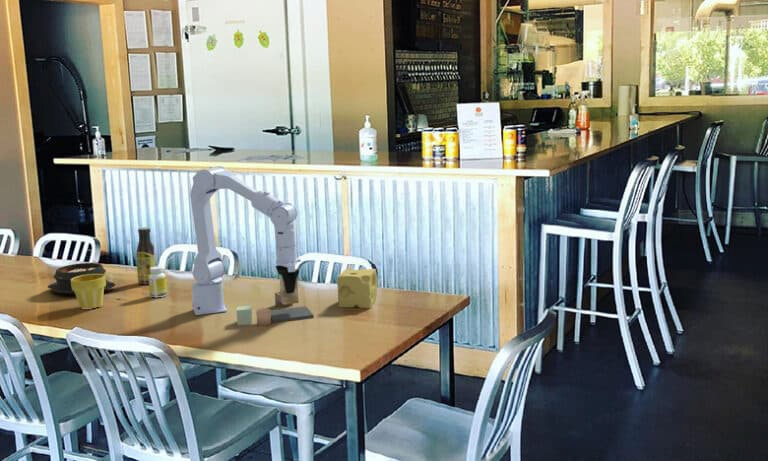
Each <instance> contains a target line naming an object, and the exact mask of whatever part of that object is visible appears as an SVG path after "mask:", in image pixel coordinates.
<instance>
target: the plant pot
mask: <svg viewBox="0 0 768 461" xmlns="http://www.w3.org/2000/svg"><path fill="white" fill-rule="evenodd" d="M106 280H107V279H106V276H105V274H104V275H103V274H87V275H81V276H77V277H74V278H72V279H71V287H72V290H73V291H74V292H75V294H76V295H75V297H76V300H77V302H78V306H79V307H81V308H96V307H99V308H101V307H103V303H104V292H105V290H104V287H105V286H106ZM100 306H101V307H100ZM81 308H80V309H81ZM96 309H97V308H96Z"/></svg>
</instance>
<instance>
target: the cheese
mask: <svg viewBox="0 0 768 461" xmlns="http://www.w3.org/2000/svg"><path fill="white" fill-rule="evenodd" d="M336 280H337V281H336V282H337V301H338V307H339V308H357V307H358V308H359V309H371V308H372V306H373V305H374V303H375V302H376V301H377V298H378V297H377V295H378V277H377V270H376V268H368V269H365V268H364V269H344V270H343V271H342V272H341V273H340V274H339V275H337V279H336Z"/></svg>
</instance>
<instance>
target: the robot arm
mask: <svg viewBox="0 0 768 461" xmlns="http://www.w3.org/2000/svg"><path fill="white" fill-rule="evenodd" d="M192 182H193V183H192V187H191V189H190V194H189V195H190V203H191V212H192V220H193V226H194V233H195V239H196V240H195V241H196V247H197V253H196V256H195V257H194V258H193V268H192V277H193V280H194V281H195V282H196V283H193V284H191V296H192V297H191V298H192V303H191V306H192V309H193V312H194V315H196V316H200V315H208V314H217V313H223V312H224V313H225V312H227V311H228V309H227V308H226V305H225V301H224V300H225V299H224V287H223V286H224V284H223V279H224V278H223V276H224V275H225V274H226V271H227V270H226V269H227V266H226V264H225V262H224V259H223V257H222V254H221V252H220V251H219V250H218V249H217V246H216V239H215V232H214V231H215V230H214V224H213V217H212V216H213V215H212V210H211V209H212V207H211V200H210V199H211V197H213V195H214V194H215V193H216V192H217V191H219V190H224V189H225V190H230V191H231V192H234V193H236V194H238V195H239V196H240V197H243V198H245V199H246V200H248V201H250V203H251V207H252V208H254V209H255V210H257V211H258V212H260V213H261V214H263V215H265V216H267V217H268V218H269V219H270V221H271V223H272V224H273V227H274V236H275V237H274V238H275V251H276V261H275V264H276V265H275V269H276V271H277V273H278V276H279V275H280V274H281V275H282V278H283V281H284V285H285V290H286V293H287V294H288V293H294V290H295V283H296V279H298V275H299V273H300V269H299V268H298V269H297V268H296V265H297V264H298V263H301V262H302V261H301V259H300V258H297V247H296V231H295V230H296V228H295V221H296V220H297V217H298V212H297V209H296V207H295V206H294V205H293V204H292V203H290V202H285V203H284V200H282V199H278V198H276V197H274V196H273V195H272V194H271V192H270V191H269V190H263V189H262V190H257V189H254V188H253V187H252V186H250V185H249V184H247V183H246V182H244V181H243V179H241V178H239V177H237V176H236V175H235V174H234V173H233V172H232V171H231V170H229V169H226V168H225V167H223V166H222V165H221V166H220V165H218V166H214V167H210V168H206V169H205V168H203V169H200V170H198V171H197V172H196V173H195V174H194V175H193V176H192Z"/></svg>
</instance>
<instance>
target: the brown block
mask: <svg viewBox="0 0 768 461" xmlns="http://www.w3.org/2000/svg"><path fill="white" fill-rule="evenodd" d="M255 311H256V312H255V313H256V314H255V315H256V325H257V326H260V327H267V326H271V324H272V321H271V312H270V311H271V309H270V308H260V309H256V310H255Z"/></svg>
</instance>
